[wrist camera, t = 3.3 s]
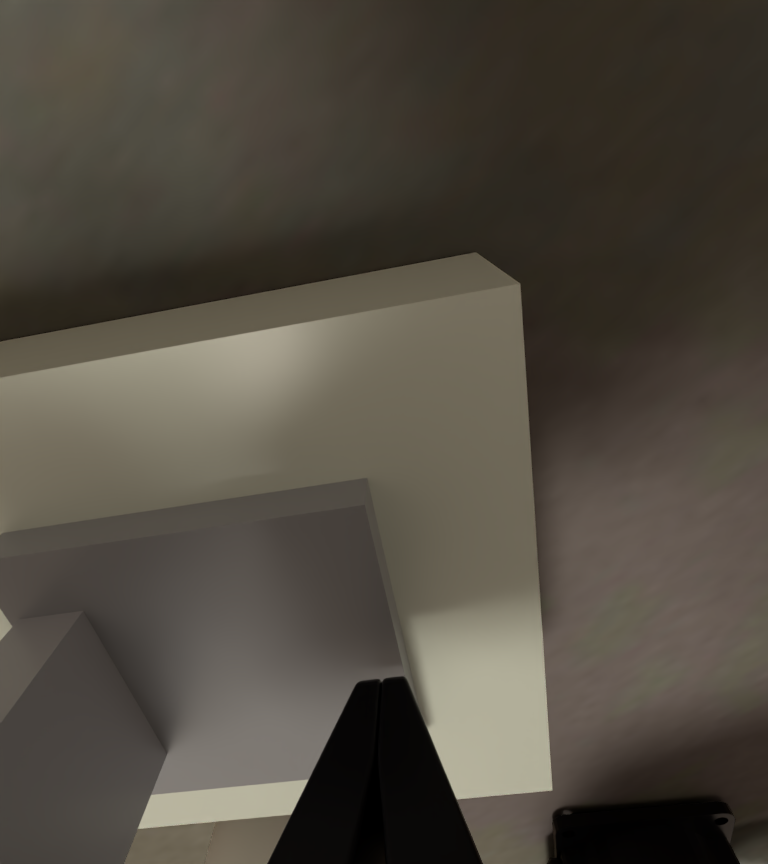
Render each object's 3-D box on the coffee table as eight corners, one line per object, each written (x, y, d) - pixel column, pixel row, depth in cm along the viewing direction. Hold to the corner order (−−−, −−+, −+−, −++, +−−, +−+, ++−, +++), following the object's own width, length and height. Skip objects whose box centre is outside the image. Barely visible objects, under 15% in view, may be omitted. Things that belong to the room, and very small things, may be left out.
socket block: (475, 252, 11) (520, 283, 7) (515, 652, 16) (552, 790, 12) (-268, 391, 12) (-545, 476, 9) (-13, 714, 17) (-120, 852, 14)
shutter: (367, 477, 8) (351, 676, 5) (424, 730, 11) (439, 969, 8) (3, 532, 9) (-239, 745, 6) (144, 759, 12) (42, 995, 8)
